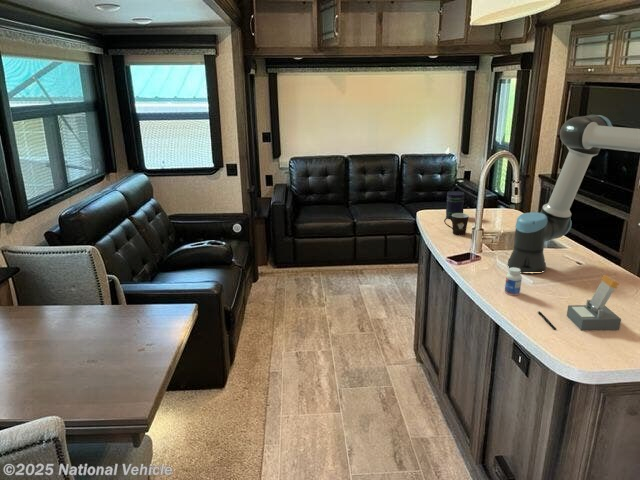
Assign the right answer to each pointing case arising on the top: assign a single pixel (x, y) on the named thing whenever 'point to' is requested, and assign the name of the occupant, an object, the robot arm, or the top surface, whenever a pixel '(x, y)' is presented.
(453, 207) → the storage jar
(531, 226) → the robot arm
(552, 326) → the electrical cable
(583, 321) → the switch box
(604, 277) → the lever
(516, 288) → the pill bottle
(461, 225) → the coffee mug
